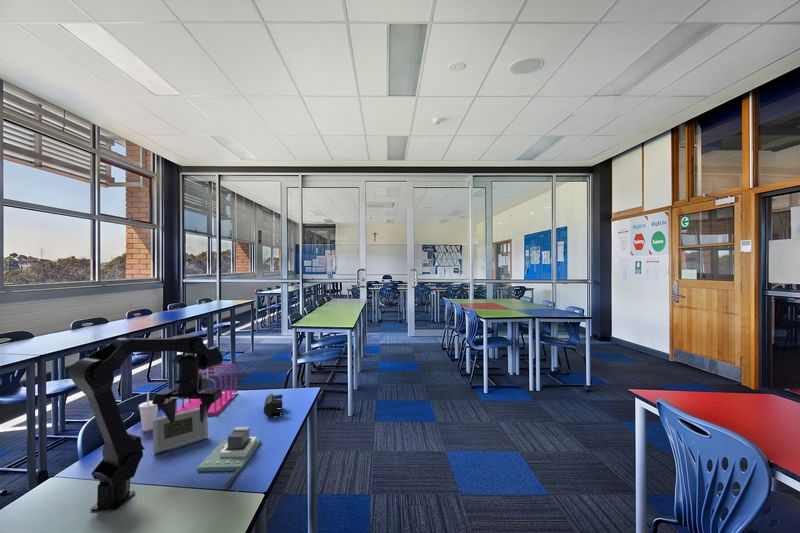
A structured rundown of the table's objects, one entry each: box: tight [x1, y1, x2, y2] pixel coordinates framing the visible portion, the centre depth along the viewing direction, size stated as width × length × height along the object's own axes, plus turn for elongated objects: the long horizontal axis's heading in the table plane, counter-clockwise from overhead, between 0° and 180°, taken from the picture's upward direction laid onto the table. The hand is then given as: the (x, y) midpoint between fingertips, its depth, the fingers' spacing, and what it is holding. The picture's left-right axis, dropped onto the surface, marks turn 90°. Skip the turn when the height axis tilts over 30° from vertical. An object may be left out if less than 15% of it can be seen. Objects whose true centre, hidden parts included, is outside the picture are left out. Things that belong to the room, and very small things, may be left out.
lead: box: [223, 467, 242, 490], centre depth 94 cm, size 12×1×1 cm, turn 4°
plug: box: [227, 426, 250, 451], centre depth 107 cm, size 6×4×6 cm
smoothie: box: [138, 392, 159, 432], centre depth 122 cm, size 6×6×14 cm
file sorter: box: [174, 363, 239, 417], centre depth 145 cm, size 17×25×16 cm
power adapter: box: [263, 393, 283, 418], centre depth 137 cm, size 10×7×7 cm
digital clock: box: [152, 408, 209, 454], centre depth 112 cm, size 16×9×11 cm, turn 121°
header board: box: [196, 436, 262, 473], centre depth 105 cm, size 16×13×3 cm
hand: (187, 422), depth 102 cm, fingers open, 9 cm apart
